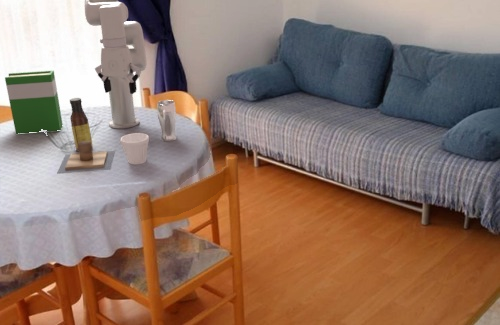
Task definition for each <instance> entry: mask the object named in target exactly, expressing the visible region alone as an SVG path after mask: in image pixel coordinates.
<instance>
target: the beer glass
mask: <svg viewBox="0 0 500 325" xmlns="http://www.w3.org/2000/svg"><path fill="white" fill-rule="evenodd" d="M156 106H157V118H158V123H159V125H160V129H161V130H160V131H161V138H160V139H161V141H163V142H166V143H167V142H174V141H176V140H177V139H178V136H177V133H176V121H177V120H176V118H177V112H176V103H175V101H174V100H173V99H172V100H171V99H164V100H158V101H157V105H156Z"/></svg>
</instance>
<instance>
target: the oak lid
mask: <svg viewBox="0 0 500 325" xmlns="http://www.w3.org/2000/svg"><path fill="white" fill-rule="evenodd" d="M78 148H79V151H78V153H70V154H71V155H70V157H69V160H68V162H67V164H66V166H65V170H73V169H86V168H99V167H104V164H105V161H106V157H107V154H108V153H107V150H105V151H93V146H92V147H91V142H90V141H83V142H79V143H78Z"/></svg>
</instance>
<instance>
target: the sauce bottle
mask: <svg viewBox="0 0 500 325" xmlns="http://www.w3.org/2000/svg"><path fill="white" fill-rule="evenodd" d="M82 102H83V101H82V98H81V97H74V98H70V99H69V104H70V106H71V115H70V118H69V119H70V124H71V130H72V131H71V132H72V136H73V141H74V145H75V150H76V151H77V152H79V148H78V143H79V142H83V141H90V142H91V147H92V148H93V141H92V140H93V139H92V134H91V130H90V129H91V128H90V124H89V119H88V117H87V115H86V113H85V111H84V109H83V106H82Z"/></svg>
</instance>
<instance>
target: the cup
mask: <svg viewBox="0 0 500 325" xmlns="http://www.w3.org/2000/svg"><path fill="white" fill-rule="evenodd" d="M149 142H150V137H149V135H148V134H146V133H142V132H135V133H134V132H133V133H129V134H125V135H123V136H121V138H120V144H121V146H122V148H123V152H124V155H125V157H126V160H127V161H128V164H131V165H141V164H144V163H146V162H147V157H148V156H147V153H148V146H149Z"/></svg>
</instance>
